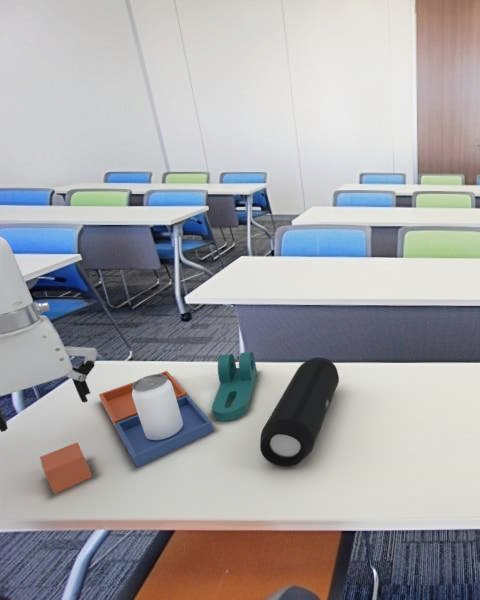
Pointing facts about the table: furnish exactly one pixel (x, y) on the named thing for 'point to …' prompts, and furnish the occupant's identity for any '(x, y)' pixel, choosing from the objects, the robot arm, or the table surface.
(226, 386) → the bracket
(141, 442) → the blue tray
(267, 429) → the portable speaker
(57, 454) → the block
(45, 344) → the robot arm
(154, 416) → the can
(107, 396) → the terracotta tray
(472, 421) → the table surface
